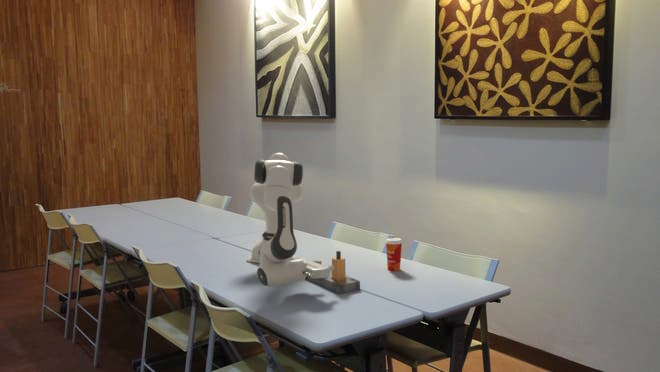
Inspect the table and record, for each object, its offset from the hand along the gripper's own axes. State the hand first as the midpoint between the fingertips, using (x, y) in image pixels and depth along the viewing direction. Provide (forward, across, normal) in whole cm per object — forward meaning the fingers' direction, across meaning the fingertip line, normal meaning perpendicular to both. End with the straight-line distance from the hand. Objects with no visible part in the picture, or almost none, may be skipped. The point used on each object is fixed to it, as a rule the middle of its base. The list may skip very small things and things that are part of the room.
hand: (326, 265), depth 240 cm
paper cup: (+41, +8, +10) cm, 43 cm away
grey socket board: (+6, +7, +10) cm, 14 cm away
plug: (+6, 0, +10) cm, 12 cm away
